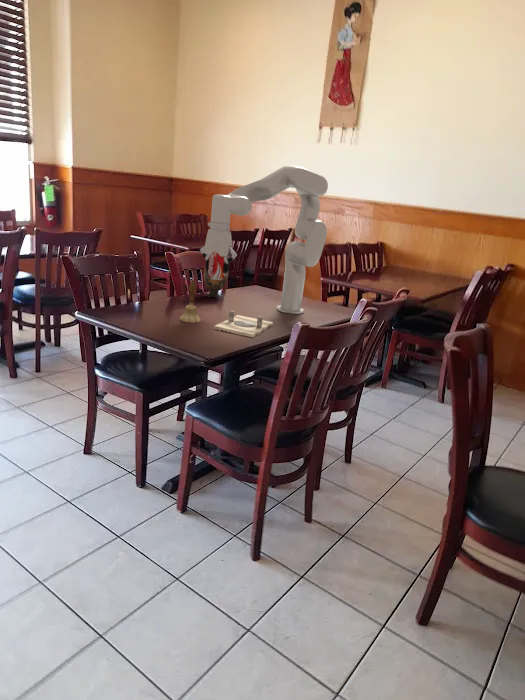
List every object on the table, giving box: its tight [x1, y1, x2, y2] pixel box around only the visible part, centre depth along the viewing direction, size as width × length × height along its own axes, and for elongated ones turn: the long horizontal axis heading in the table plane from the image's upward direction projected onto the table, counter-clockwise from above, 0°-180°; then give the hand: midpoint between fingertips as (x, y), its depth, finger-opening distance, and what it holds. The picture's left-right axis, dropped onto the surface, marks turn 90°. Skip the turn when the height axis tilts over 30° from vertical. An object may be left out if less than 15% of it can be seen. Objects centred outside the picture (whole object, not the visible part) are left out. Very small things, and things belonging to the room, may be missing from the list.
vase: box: [203, 264, 230, 299], centre depth 239 cm, size 12×12×30 cm
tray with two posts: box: [213, 310, 274, 338], centre depth 197 cm, size 22×16×5 cm
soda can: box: [208, 250, 225, 280], centre depth 204 cm, size 7×7×12 cm
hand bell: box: [179, 279, 202, 324], centre depth 196 cm, size 8×8×16 cm
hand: (217, 271), depth 205 cm, fingers closed on soda can, 7 cm apart
